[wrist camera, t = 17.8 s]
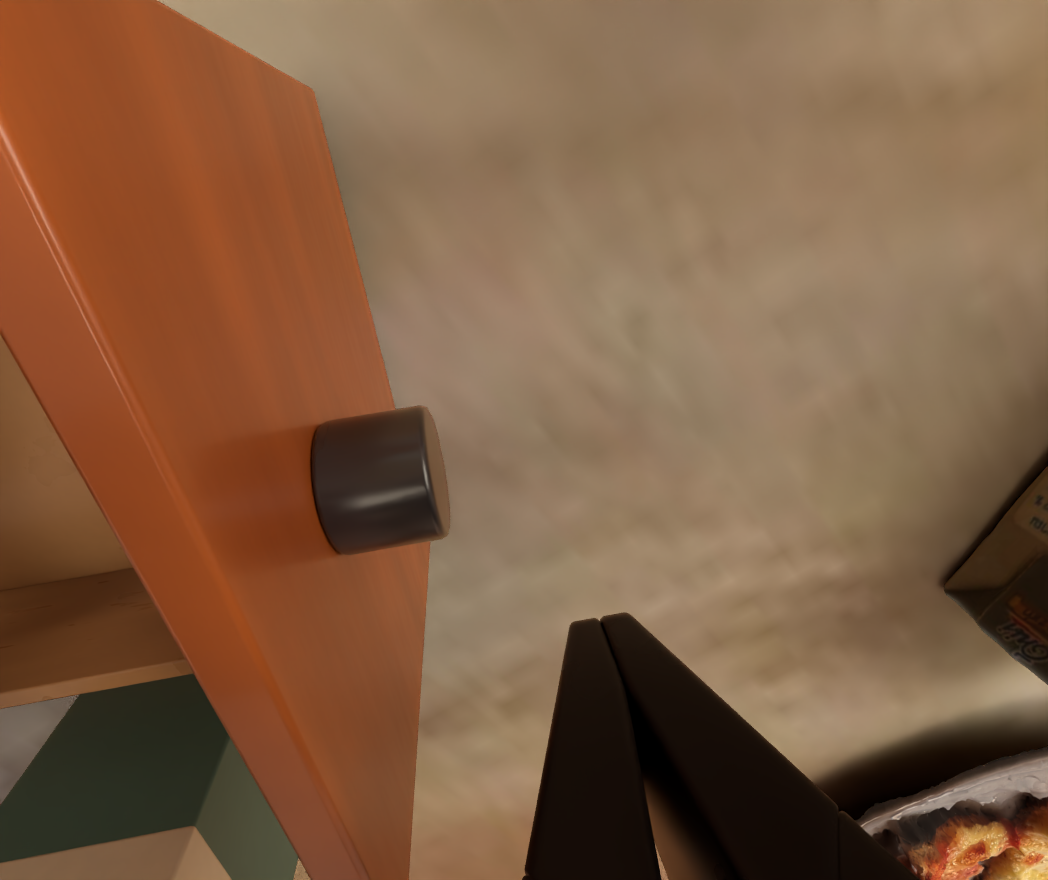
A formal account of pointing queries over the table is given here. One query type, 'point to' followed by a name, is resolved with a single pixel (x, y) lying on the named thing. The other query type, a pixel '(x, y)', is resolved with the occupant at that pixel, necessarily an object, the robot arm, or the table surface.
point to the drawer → (206, 419)
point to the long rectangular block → (141, 796)
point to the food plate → (972, 823)
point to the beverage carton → (1012, 580)
